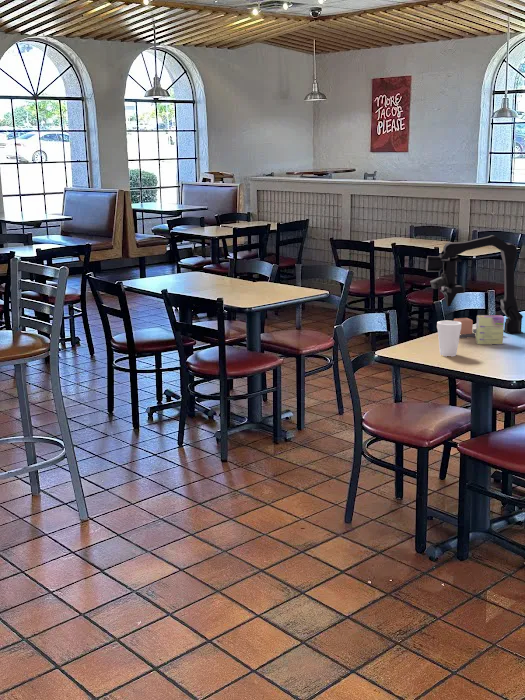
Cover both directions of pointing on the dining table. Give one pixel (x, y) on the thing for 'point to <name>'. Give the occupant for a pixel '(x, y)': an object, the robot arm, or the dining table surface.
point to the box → (489, 329)
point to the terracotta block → (465, 325)
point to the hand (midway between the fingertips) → (448, 306)
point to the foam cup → (448, 337)
